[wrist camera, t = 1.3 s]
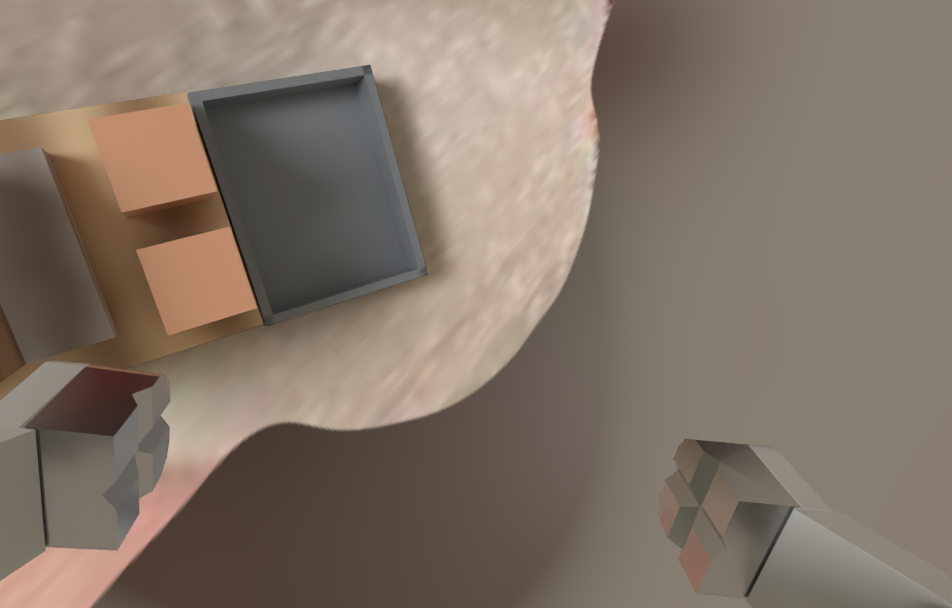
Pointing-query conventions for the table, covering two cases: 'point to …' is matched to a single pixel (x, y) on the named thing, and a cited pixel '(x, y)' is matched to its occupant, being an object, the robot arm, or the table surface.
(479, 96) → the table surface
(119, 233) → the tan piece
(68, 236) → the upright wooden block
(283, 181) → the tray
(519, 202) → the table surface
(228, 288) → the orange brown cube
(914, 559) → the robot arm
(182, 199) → the orange cube
